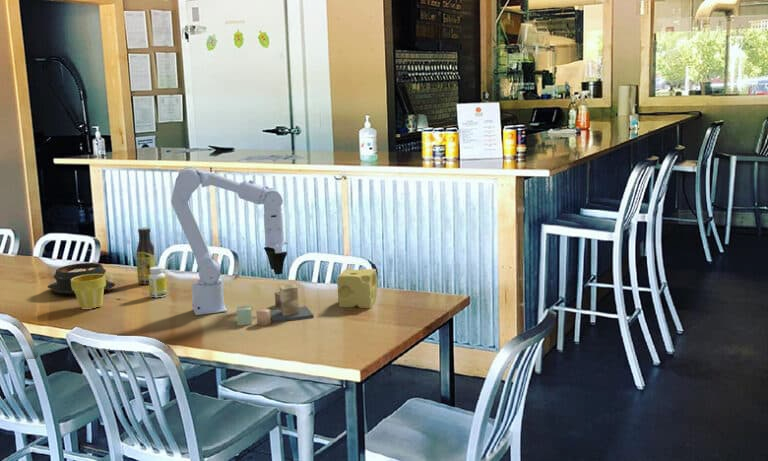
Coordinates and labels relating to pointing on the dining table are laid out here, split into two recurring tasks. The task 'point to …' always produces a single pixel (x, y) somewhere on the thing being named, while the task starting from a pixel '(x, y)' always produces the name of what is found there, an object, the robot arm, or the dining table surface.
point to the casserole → (74, 270)
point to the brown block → (263, 317)
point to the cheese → (357, 288)
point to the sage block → (244, 315)
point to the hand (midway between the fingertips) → (276, 271)
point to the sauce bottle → (144, 255)
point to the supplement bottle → (157, 282)
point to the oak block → (289, 299)
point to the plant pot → (89, 289)
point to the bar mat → (303, 314)
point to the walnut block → (277, 299)
